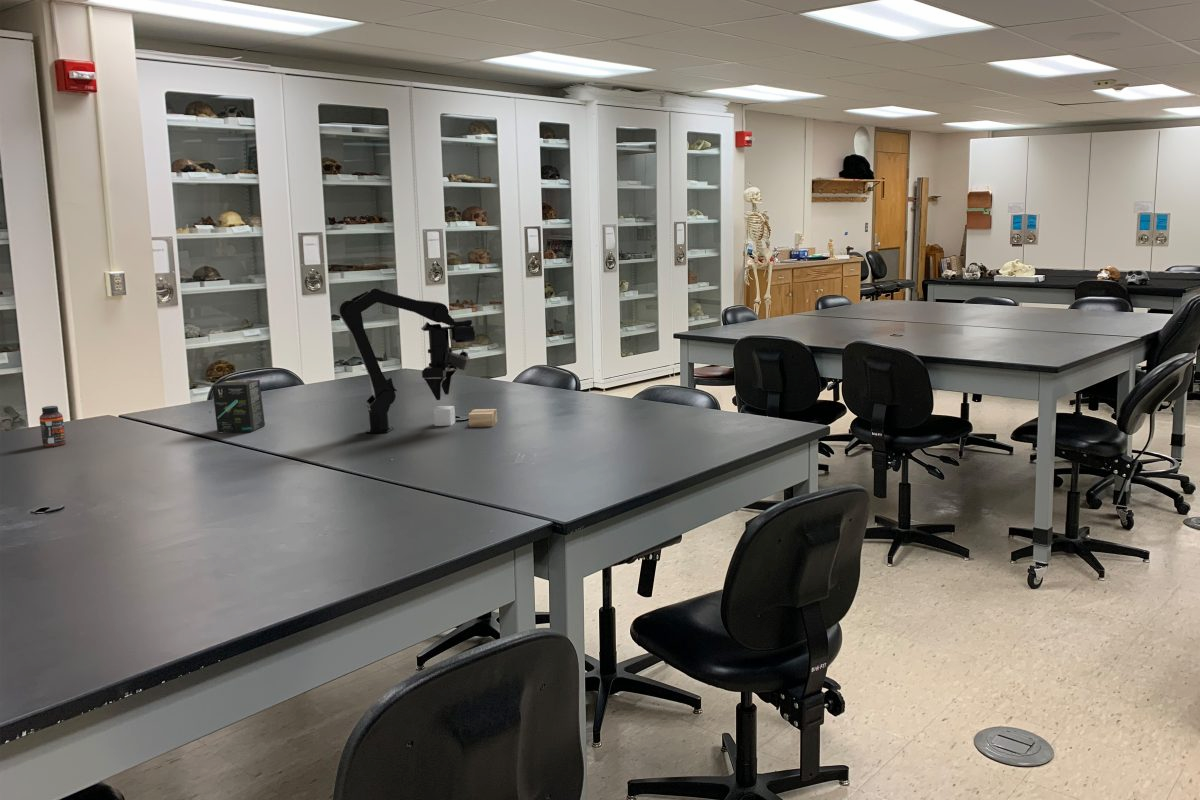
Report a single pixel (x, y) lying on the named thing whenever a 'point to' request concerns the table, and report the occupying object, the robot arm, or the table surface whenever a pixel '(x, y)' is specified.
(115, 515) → the table surface
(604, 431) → the table surface
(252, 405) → the tampon box
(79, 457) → the table surface
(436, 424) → the white cube
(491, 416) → the oak block
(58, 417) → the supplement bottle
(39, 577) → the table surface
